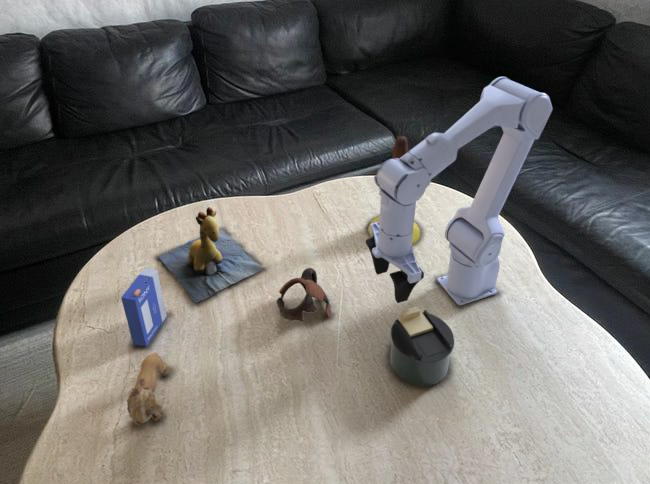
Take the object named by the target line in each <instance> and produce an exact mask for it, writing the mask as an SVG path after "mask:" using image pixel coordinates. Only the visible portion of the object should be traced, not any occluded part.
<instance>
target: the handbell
mask: <svg viewBox="0 0 650 484" xmlns="http://www.w3.org/2000/svg"><path fill="white" fill-rule="evenodd" d="M409 151H410V149H409V141H408V138H407V137H406V136H404V135H399V136H397V137H396V138H395V143H394V145H393V149H392V157H391V159H395V158H399V159H400V158H401V157H402V156H403V155H405V154H406V153H407V152H409ZM379 221H380V215H379V216H376V217H375V218H374V219H372V220H371V222H370V223H369V225H368V228H367V229H368V234H369V236H370V238H372V236H373V235H372V234H371V232H370V226H371V224H373V223H376V222H379ZM420 237H421V229H420V227H419V226H418V224H417V223H416V221H414V226H413V236H412V245H413V244H416V242H417V241H418V240H419V239H420Z"/></svg>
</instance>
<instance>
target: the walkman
mask: <svg viewBox="0 0 650 484" xmlns="http://www.w3.org/2000/svg"><path fill="white" fill-rule="evenodd" d="M159 275H160V274H159V271H158V270H157V269H152V268H150V267H143V269H142V270H141V271H140V273H139V274H138V276H136V278H135V279H134V280H133V281H132V282H131V284H130V285H129V287H128V288H127V289H126V290H125V291H124V293H123V294H122V296H121V297H120V299H121V302H122V307H123V310H124V313H125V318H126V322H127V326H128V329H129V333H130V338H131V340H132V344H133V345H135V346H136V345H137V346H140V347H146V348H147V347H148V345H149V344H150V342H151V341H152V340H153V338H154V336H155V335H156V333H157V332H158V330H159V329H160V327H161V326H162V325H163V323H164V321H165V320H166V318H167V316H168V314H167V309H166V305H165V301H164V295H163V291H162V285H161V282H160V276H159Z"/></svg>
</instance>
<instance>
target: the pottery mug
mask: <svg viewBox="0 0 650 484" xmlns="http://www.w3.org/2000/svg"><path fill="white" fill-rule="evenodd" d="M296 284H300V285H301V286H302V288H303V289H304V291H305V296H304V298H303V300H302V301H301V302H300V304H298V305H297V306H296V307H293V308H286V307H285V306H286V304H285V300H284V296H285V294H286V293H287V292H288V290H289V289H290V288H291V287H293V286H295V285H296ZM279 294H280V297H278V298H277V299H276V306H277V308H278V311H279V314H280V316H281V317H282V318H283V319H284V320H286V321H291V322H293V321H299V322H301V323H304V322H305V320H304V313H307V314H309V313H316V312H317V311H318V310H319V309H318V307H317V306H316V303H315V301H314V299H316V300H317V301H319V302H325V307H324V308H325V309H324V314H325V316H326V318H327V319H330V317H331V315H332V307H331V303H330V300H329V299H328V297H327V294H326V293H325V291H324V289H323V288H322V287H321V285H320V284H318V274H317V271H316V270H315V269H314V268H312V267H308V268H305V269H304V270H302V272H301V276H300V277H294V278H291V279H290V280H288V281H287V282H285V283H284V284H283V285H282V286H281V288H280V289H279Z"/></svg>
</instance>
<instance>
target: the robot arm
mask: <svg viewBox="0 0 650 484" xmlns="http://www.w3.org/2000/svg"><path fill="white" fill-rule="evenodd" d="M553 109H554V108H553V105H552V101H551V98H550V96H549V94H547V93H545V92H540V91H537V90H535V89H533V88H530V87H528V86H525V85H524V84H521V83H519V82H516V81H513V80H511V79H510V78H508V77H507V76H498V77H496V78H495V79H493V80H492V81H491V82H490V83H489V84H488V85H486V86H485V87H484V88H483V89H482V91H481V95H480V98H479V101H478V102H477V103H476V104H475V105H474V106H473V107H471V108H470V109H469V110H468V111H467V112H466V113H465V114H464V115H463V116H462V117H461V118H459V119H458V120H457V121H456V122H455V123H454V124H452V125H451V126H450V127H449V128H447V130H445V132H443V133H442V132H433V133H431V134H429V135H427V137H425V138H424V139H423V140H422V141H420V142H419V143H418V144H416V145H415V146H413V148H411V149H409V152H407V153H406V154H405V155H403V156H402V157H401V158H400V159H399V158H395V159H392V158H390V159H387V160H385V161H384V162H383V163H382V164H380V167H379V168H378V170H377V172H376V175H374V176H373V178H374V179H373V180H374V184H375V185H376V186H377V187H378V189H379V192H378V193H379V196H380V205H379V206H380V208H379V216H380V221H379V222H376V223H373V224H371V226H370V232H371V234H372V235H373V236H372V237H370V238H367V239H366V240H365V244H366V246H367V249H368V251H369V252H370V253H369V254H370V255H371V258H372V262H373V268H374V272H375V274H376V275H378V276H379V275H381V274H385V273H388V270H389V267H390V264H391V265H393V266H394V267H396V268H397V269H398V270H397V271H393V272H390V273H389V277H390V278H391V280H392V284H393V288H394V300H395V302H396V303H397V304H401V303H404V302H406V301H408V299H409V298H410V296H411V293H412V292H413V290H414V288H415V287H416V285H418V283H420V282H421V281H422V280H423V279H424V277H425V272H424V270H422V269H421V267H420V266H419V265H418V262H417V258H416V255H415V252H414V248H413V244H412V236H413V226H414V222H415V215H416V207H417V206H416V205H417V201H419V200H420V199H421V198H422V197H423V195H424V194H425V191H426V189H427V188H428V187H429V186H430V185H431V183H432V179H434V178H435V177H437V176H438V175H439V174H440V173H441V172H442V171H444V170H445V169H446V168H447V167H449V166H450V165H452V164H453V163H454V162H456V160H457V157H458V151H459V149H461V148H462V147H464V146H465V145H466V144H467V145H468V143H470V142H471V141H473V140H474V139H476V138H477V137H479V136H480V135H481V134H484V133H485V132H487V131H488V130H490V129H491V128H493V127H495V126H497V127H501V130H502V133H503V134H502V136H501V138H500V140H499V143H498V144H497V147H496V149H495V152H494V153H493V156H492V158H491V160H490V162H489V164H488V167H487V169H486V171H485V173H484V176H483V177H482V180H481V182H480V185H479V186H478V189H477V191H476V194H475V195H474V198H473V200H472V202H471V205H470V206H465V207H461V208H458V209H457V210H456V211H455V214H454V216H453V217H452V219H450V220H449V222H448V223H447V224H446V227H445V230H444V238H445V240H446V241H447V242H449V243H448V248H449V249H450V255H449V261H448V268H447V274H446V275H443V276H439V277H437V279H436V280H437V282H438V283H439V284H440V286H441V287H442V288H443V289H444V290H445V292H447V294H448V295H449V296H450V298H451V299H452V300H453V301H454V302H455V303H456V305H458V306H463V305H466V304H469V303H472V302H475V301H478V300H480V299H481V300H482V299H484V298H486V297H490V296H493V295H496V294H497V293H498V289H496V284H497V280H498V276H499V272H500V267H501V266H500V264H501V263H500V258H499V256H500V253H501V250H502V243H503V240H504V237H505V235H506V234H505V230H504V228H503V226H502V224H501V222H500V219H499V216H500V214H501V211H502V209H503V207H504V205H505V204H506V201H507V199H508V197H509V195H510V193H511V190H512V188H513V186H514V185H515V182H516V180H517V178H518V175H519V173H520V171H521V169H522V167H523V166H524V163H525V161H526V159H527V157H528V155H529V152H530V150H531V148H532V146H533V144H534V142H535V141H536V140H539V139H540V137H541V134H542V133H543V131H544V129H545V126H546V124H547V123H548V120H549V118H550V116H551V114H552V112H553Z"/></svg>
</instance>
